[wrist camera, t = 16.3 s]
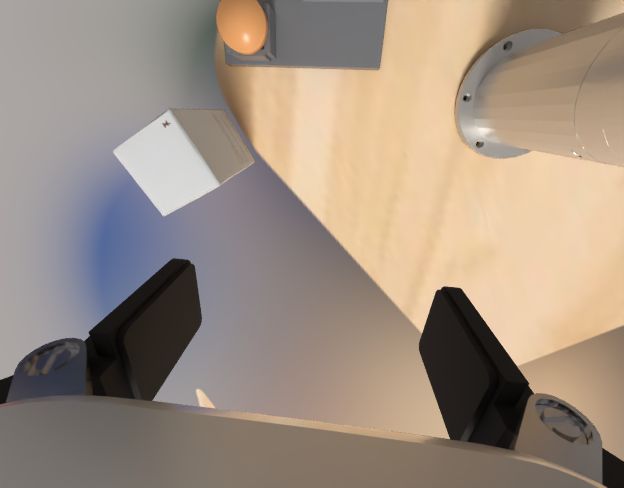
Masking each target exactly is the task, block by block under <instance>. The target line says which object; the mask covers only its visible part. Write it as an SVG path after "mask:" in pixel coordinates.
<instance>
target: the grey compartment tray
mask: <svg viewBox="0 0 624 488" xmlns="http://www.w3.org/2000/svg"><path fill="white" fill-rule="evenodd" d="M220 1H221V0H220ZM257 2H258V3H259V4H260V6H261V7H262V9H263V10H264V12H265V14H266V17H267V21H268V36H267V40H266V42H265V44H264V46H263V47H262V48H261V49H260V50H259V51H258V52H257V53H255V54H252V55H243V54H240V53H238V52H237V51H235V50H233V49H232V48H230V47H229V46H228V45H227V44H226V43H225V42H224V47H225V59H226V64H227V65H230V66H248V67H284V68H319V69H355V70H379V68H380V63H381V54H382V46H383V38H384V30H385V21H386V13H387V5H388V0H257Z"/></svg>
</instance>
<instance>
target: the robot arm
mask: <svg viewBox="0 0 624 488" xmlns="http://www.w3.org/2000/svg"><path fill="white" fill-rule="evenodd" d="M504 45H505V50H504V49H503V46H504ZM464 96H466V99H465V100H463V97H464ZM455 121H456V126H457V129H458V133H459V135H460V136H461V138H462V140H463V142H464V143H465V144H466V145H467V146H468V147H469V148H470V149H472V150H473V151H475V152H476V153H478V154H481V155H484V156H486V157H491V158H499V159H506V158H513V157H518V156H521V155H524V154H527V153H529V152H531V151H538V152H543V153H549V154H554V155H560V156H565V157H571V158H576V159H582V160H587V161H592V162H598V163H603V164H609V165H614V166H620V167H624V13H621V14H618V15H615V16H612V17H610V18H607V19H604V20H601V21H598V22H596V23H593V24H590V25H587V26H584V27H582V28H579V29H576V30H573V31H570V32H568V33H565V34H562V33H560V32H557V31H555V30H551V29H544V28H537V29H528V30H524V31H521V32H518V33H515V34H513V35H510V36H508V37H506V38H504V39H502V40H501V41H499V42H497V43H496V44H494V45H492V46H491V47H490V48H489V49H488V50H487V51H485V52H484V53H483V54H482V55H481V56H480V57H479V58H478V59H477V61H476V62H475V63H474V64H473V65H472V67H471V68H470V70H469V71H468V73H467V74H466V76H465V78H464V80H463V82H462V84H461V86H460V89H459V92H458V96H457V99H456V106H455ZM477 142H478V145H477V146H476V143H477ZM201 321H202V316H201V308H200V301H199V294H198V287H197V279H196V272H195V266H194V265H193V264H191V262H190V261H189V260H184V259H172V260H170V261H169V262H168V263H167V264H166V265H164V266H163V267H162V268H161V269H160V270H159V271H158V272H156V273H155V274H154V275H153V276H152V277H151V278H150V279H149V280H148V281H146V282H145V283H144V284H143V285H142V286H141V287H139V288H138V289H137V290H136V291H135V292H134V293H133V294H132V295H130V296H129V297H128V298H127V299H126V300H125V301H123V302H122V303H121V304H120V305H119V306H118V307H117V308H116V309H115V310H113V311H112V312H111V313H110V314H109V315H108V316H106V317H105V318H104V319H103V320H102V321H101V322H100V323H98V324H97V325H96V326H95V327H94V328H93V329H92V330H90V331H89V334H90V336H89V337H88V338H87V339H86V340H85V341H83V340H81V339H77V338H65V339H60V340H56V341H53V342H50V343H48V344H45V345H43V346H41V347H39V348H37V349H35V350H34V351H32V352H31V353H29V354H28V355H27V356H25V357H24V358H23V360H21V361H20V362H19V364H18V366H17V367H16V369H15V372H14V375H13V376H10V377H8V378H4V379H2V380H0V488H624V462H623V461H622V460H620V459H619V458H617V457H616V456H614V455H613V454H611V453H609V452H608V451H606V450H605V449H603V448H602V441H601V437H600V434H599V433H598V431H597V429H596V428H595V426H594V425H593V424H592V423H591V422H590V420H589V419H588V418H587V417H586V416H584V415H583V414H582V413H581V412H580V411H579V410H577V409H576V408H575V407H573V406H572V405H570V404H568V403H567V402H565V401H563V400H561V399H559V398H557V397H555V396H551V395H548V394H540V393H536V394H534V393H533V392H532V390H531V389H530V387H529V386H528V385H529V383H528V381H527V380H526V379H525V377H524V376H523V374H522V373H521V372H520V370H519V369H518V367H517V366H516V364H515V363H514V362H513V360H512V359H511V357H510V356H509V355H508V353H507V352H506V350H505V349H504V348H503V346H502V345H501V344H500V342H499V341H498V339H497V338H496V337H495V335H494V334H493V332H492V331H491V330H490V328H489V327H488V325H487V324H486V323H485V321H484V320H483V318H482V317H481V316H480V314H479V313H478V311H477V310H476V309H475V307H474V306H473V304H472V303H471V302H470V300H469V299H468V297H467V296H466V295H465V293H464V292H463V290H462V289H461V288H455V287H445V286H444V287H442V289H441V290H437V291H436V293H435V296H434V300H433V303H432V306H431V309H430V312H429V315H428V318H427V321H426V324H425V327H424V330H423V333H422V336H421V339H420V342H419V351H420V354H421V357H422V360H423V363H424V366H425V369H426V372H427V374H428V377H429V380H430V383H431V386H432V389H433V392H434V394H435V397H436V400H437V403H438V406H439V409H440V411H441V414H442V417H443V420H444V423H445V426H446V428H447V431H448V434H449V437H450V439H444V438H437V437H430V436H424V435H416V434H409V433H401V432H393V431H386V430H378V429H371V428H364V427H356V426H349V425H341V424H333V423H326V422H317V421H309V420H301V419H294V418H286V417H278V416H271V415H263V414H255V413H247V412H239V411H230V410H222V409H214V408H206V407H198V406H189V405H181V404H172V403H164V402H156V401H152V400H153V399H154V397H155V395H156V394H157V392H158V391H159V389H160V388H161V386H162V385H163V383H164V382H165V380H166V378H167V377H168V375H169V374H170V372H171V371H172V369H173V368H174V366H175V364H176V363H177V361H178V360H179V358H180V357H181V355H182V353H183V352H184V350H185V349H186V347H187V346H188V344H189V342H190V341H191V340H192V338H193V336H194V335H195V333H196V332H197V330H198V329H199V327H200V325H201Z"/></svg>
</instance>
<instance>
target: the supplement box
mask: <svg viewBox="0 0 624 488" xmlns="http://www.w3.org/2000/svg"><path fill="white" fill-rule="evenodd" d="M113 153H114V155H115V156H116V157H117V158H118V159H119V161H120V162H121V163H122V164H123V166H124V167H125V168H126V169H127V171H128V172H129V173H130V174H131V176H132V177H133V178H134V180H135V181H136V182H137V183H138V185H139V186H140V187H141V188H142V190H143V191H144V192H145V193H146V195H147V196H148V197H149V198H150V200H151V201H152V202H153V203H154V205H155V206H156V207H157V209H158V210H159V211H160V213H161V214H162V215H163V216H166V215H168V214H169V213H171V212H173V211H175V210H176V209H179V208H181V207H182V206H184V205H186V204H188V203H190V202H191V201H194V200H195V199H197V198H199V197H201V196H203V195H204V194H206V193H208V192H210V191H212V190H213V189H215V188H217V187H219V186H220V185H221V184H223V183H224V182H225V181H227V180H228V179H229V178H231V177H233V176H235V175H236V174H238V173H239V172H241V171H242V170H244V169H245V168H247V167H248V166H250V165H251V164H252V163H254V162H255V160H254V159H253V157H252V155H251V154H250V152H249V150H248V148H247V147H246V145H245V143H244V142H243V140H242V138H241V137H240V135H239V134H238V132H237V130H236V129H235V127H234V125H233V124H232V122H231V120H230V118H229V117H228V115H227V114H226V112H225V110H201V109H168V110H166V111H165V112H164V113H163V114H161V115H160V116H159V117H157V118H156V119H155V120H153V121H152V122H151V123H149V124H148V125H147V126H145V127H144V128H143V129H142V130H141V131H139V132H138V133H136V134H135V135H133V136H132V137H131V138H129V139H128V140H127V141H125V142H124V143H123V144H121V145H120V146H119V147H117V148H116V149H114V150H113Z"/></svg>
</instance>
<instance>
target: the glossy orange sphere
mask: <svg viewBox="0 0 624 488" xmlns="http://www.w3.org/2000/svg"><path fill="white" fill-rule="evenodd" d="M216 20H217V27H218V31H219V33H220V36H221V37H222V39H223V41H224V42H225V43H226V44H227V45H228V46H229V47H230V48H232V49H233V50H235V51H237V52H238V53H240V54H243V55H252V54H255V53H257V52H258V51H259V50H260V49H261V48H262V47H263V46H264V44H265V42H266V40H267V36H268V21H267V17H266V14H265V12H264V10H263V9H262V7H261V6H260V4H259V3H258V2H257V0H221V2H220V4H219V6H218V9H217V18H216Z"/></svg>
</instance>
